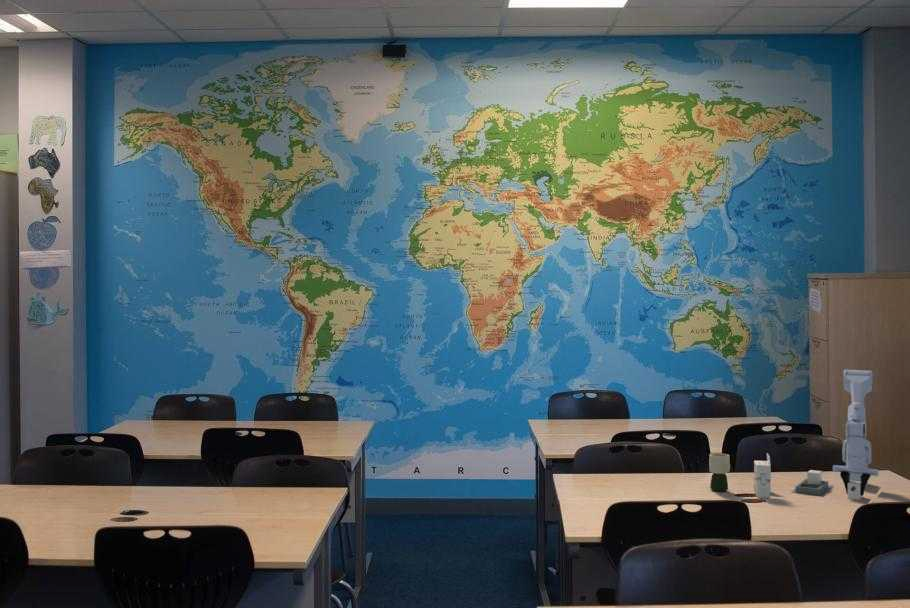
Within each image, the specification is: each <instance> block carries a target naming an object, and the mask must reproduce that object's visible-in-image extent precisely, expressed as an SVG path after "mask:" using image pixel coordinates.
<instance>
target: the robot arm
mask: <svg viewBox="0 0 910 608" xmlns="http://www.w3.org/2000/svg"><path fill="white" fill-rule="evenodd" d="M873 373H874V372H873V371H872V370H863V369H861V370H860V369H846V368H845V369H844V370H843V374H842V375H843V379H842V380H843V383H842V384H843V388H844V391H846V392H848V393H849V394H850V396H851V404H849V405H848V407H847V421H846V423H845V437H846V438H845V440H843V443H842V451H841V452H842V453H841V454H842V456H841V457H842V458H841V459H842V461H843V463H845V465H838V464H835V465H834V464H833V465H832V472H835V473H836V472H838V473H840V474H839V475H840V478H841V480H842V481H843V485H844V487H845V494H846V495H848V482H849V481H858V482H861V496H862V497H863V496H864V495H865V494H864V493H865V490H866V488H867V487H868V484H869V483H868V482H869V480H870V478H871V476H874V477H879V469H876V468H875V469H874V468H869V467H868V465H870V464H871V463H872V444H871V442H870V441H869V440H868V439H866V438H867V422H866V407H865V397H866V395H867V394H868V393H871V392H872V390H873V377H874V375H873Z"/></svg>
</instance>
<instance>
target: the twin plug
mask: <svg viewBox="0 0 910 608" xmlns="http://www.w3.org/2000/svg"><path fill="white" fill-rule="evenodd" d="M806 473H807V474H806V479H807V483H811V484H819V485H822V481H823V480H822V479H823V478H822V477H823V476H822V475H823V472H822V470H814V469H810V470H808V471H807V472H806Z"/></svg>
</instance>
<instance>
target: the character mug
mask: <svg viewBox="0 0 910 608" xmlns="http://www.w3.org/2000/svg"><path fill="white" fill-rule="evenodd" d="M708 456H709V459H708V467H709V469H708V470H709V472H710V473H711V474H712V475H711V478H710V486H709V487H710V489H711V490H712V491H720V492H723V491H728V490H729V484H728V482H729V481H728V476H727V474H728V473H730V472H731V471H730V470H731V463H730V462H731V461H730V458H731V457H730V454H726V453H720V452H719V453H709V455H708Z"/></svg>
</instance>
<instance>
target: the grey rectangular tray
mask: <svg viewBox="0 0 910 608" xmlns="http://www.w3.org/2000/svg"><path fill="white" fill-rule="evenodd" d="M834 487H835V485H829V481H827V480H822V485H819V484H811V483H807V478H804V479H803V480H802V481H800V483H798V484H796V486H795V488H794V489H793V490H792V491H791V492H790V493H791V494H799V495H807V496H816V497H822V498H823V497H824V496H826V494H828V493H829V492H830V491H831V490H832V489H833V488H834Z"/></svg>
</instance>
